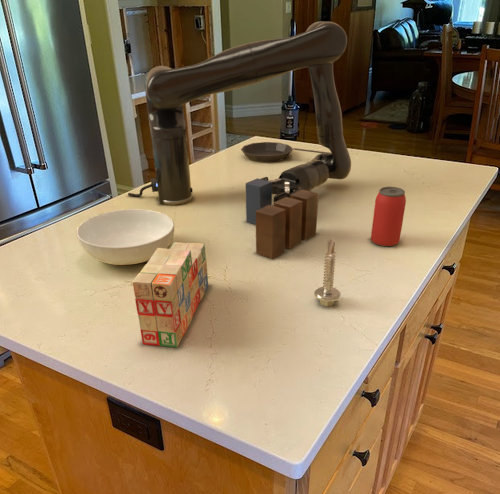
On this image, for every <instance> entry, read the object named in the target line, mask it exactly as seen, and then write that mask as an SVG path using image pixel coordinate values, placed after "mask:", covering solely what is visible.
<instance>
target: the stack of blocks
mask: <svg viewBox="0 0 500 494" xmlns="http://www.w3.org/2000/svg"><path fill="white" fill-rule="evenodd" d="M208 275H209V274H208V260H207V258H206V243H197V242H196V243H195V242H179V241H178V242H176V241H174V242H173V243H172V244H171V246H170V248H167V249H164V248H157V250H156V251H155V252H154V254H153V255H152V257H151V258H150V260H148V261H147V263H146V264H144V266H143V267H142V269H141V270H140V272H139V273H137V275H136V276H135V278H134V279H133V280H132V286H133V292H134V293H133V294H134V298H135V299H134V301H135V307H136V311H137V312H136V313H137V317H138V321H139V322H138V323H139V328H140V330H139V331H140V337H141V342H142V345H147V346H159V347H169V348H178V347H179V345H180V343H181V341H182V339H183V337H184V336H185V334H186V332H187V330H188V328H189V326H190V324H191V322H192V321H193V317H194V314H195V313H196V311H197V308H198V306H199V304H200V302H201V301H202V300H203V297H204V296H205V293H206V292H207V289H208V287H209V276H208Z"/></svg>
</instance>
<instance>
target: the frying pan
mask: <svg viewBox="0 0 500 494" xmlns="http://www.w3.org/2000/svg"><path fill="white" fill-rule="evenodd" d="M240 150H241V152H242V153H243V155H244V156H245V158H247V159H248V160H249V161H252V162H257V163H275V162H276V163H277V162H279V161H284V160H286V159H288V157H289V156H290V155H291V153H292V152H293V151H301V152H308V153H316V154H321V153H329V152H328V151H320V150H313V149H304V148H296V147H292V146H291V145H289V144H287V143H282V142H276V141H275V142H274V141H260V142H252V143H249V144H245V145H243V146H242V147H241V149H240Z"/></svg>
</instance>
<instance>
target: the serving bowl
mask: <svg viewBox="0 0 500 494" xmlns="http://www.w3.org/2000/svg"><path fill="white" fill-rule="evenodd" d="M174 234H175V222H174V219H172V218H171V216H169V215H167V214H166V213H163V212H160V211H157V210H154V209H153V210H152V209H147V208H146V209H144V208H126V209H117V210H111V211H105V212H102V213H99V214H97V215H93V216H92V217H89V218H88V219H86V220H84V221H82V222H81V223H80V224H79V225H78V226H77V228H76V237H77V240H78V242H79V245H80V246H81V247H82V249H83V250H84V251H85V253H86V254H88V255H89V256H90V257H91V258H93V259H95V260H97V261H99V262H102V263H105V264H109V265H116V266H118V265H119V266H126V265H135V264H140V263H145V262H148V261H149V260H150V258H151V257H152V255H153V254H154V252H155V251H156V250H157V248H164V249H169V247H170V245H171V243H172V241H173V239H174Z"/></svg>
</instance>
